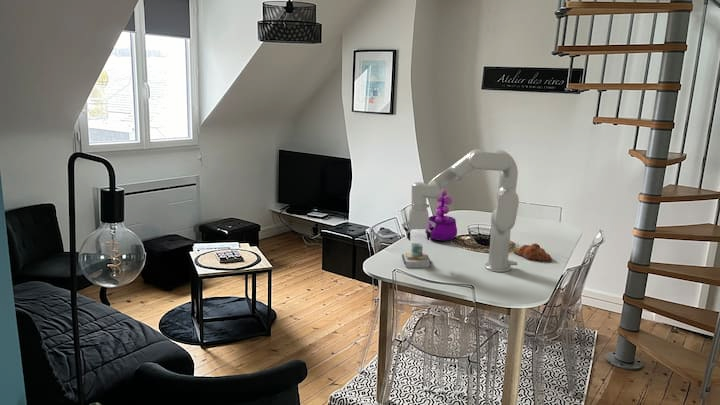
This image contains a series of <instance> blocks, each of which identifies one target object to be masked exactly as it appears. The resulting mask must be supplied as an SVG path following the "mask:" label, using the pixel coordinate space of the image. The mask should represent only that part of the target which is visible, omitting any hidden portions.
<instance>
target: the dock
mask: <svg viewBox="0 0 720 405" xmlns="http://www.w3.org/2000/svg"><path fill="white" fill-rule="evenodd" d="M425 254H426V256H427V260H407V257H406V253H403V254H402V253H401V258H402V261H403V264H404V266H405V268H430V265H432V261H431V259H430V258H429V255H428V254H427V253H425Z"/></svg>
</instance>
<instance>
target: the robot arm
mask: <svg viewBox="0 0 720 405" xmlns="http://www.w3.org/2000/svg"><path fill="white" fill-rule="evenodd" d="M475 170H483V171H496V172H499V177H498V186H497V189H496V190H497V191H496V194H495V195H496V196H495V198H496V201H497V206H496V208H495V209H493V211H492V213H491V218H490V239H489V249H488V250H489V251H488V261H487V262H486V263H484V267H485V269H487V270H488V271H492V272H496V273H505V272H509V271H510V270H511V266H517V265H518V261H514V260H510V259H509V251H510V242H511V231H512V229H513V228H514V227H515V224H516V220H517V215H518V211H519V210H518V209H519V203H520V202H519V201H520V200H519V198H520V197H519V195H518V194H517V192H516V191H517V184H518V178H519V174H518V173H519V169H518V165H517V163H516V161H515V159H514V157H512V155H510V153H508V152H507V151H505V150H502V149H499V150H495V151H494V152H491V151H490V152H487V151H483V150H482V149H478V148H475V149H472V150H471V151H469V152H468V153H467V154H465V155H464V156H463V157H462V158H460V159H459V160H458V161H456V162H454V164H452V165H451V166H449V167H448V168H447V169H445V170H443V171H442V172H440V173H439V174H438V175H437V176H435V177H434V178H433V179H432V180H430V181H429V182H428V183H425V182H413V183H412V184H411V208H409V213H408V220H407V221H404V222H403V223H401V227H402V229H403V230H404V231H405V232H406V238H407V240H408V241H411V231H412V230H426V229H427V230H428V231H427V234H426V239H427V241H429V240H430V239H431V238H430V232H431V231H432V230H433V229H434V227H435V225H436V223H434V222H432V221H430V220H429V217H430V216H429V210H428V209H427V208H430V204H427V203H428V202H427V201H428V200H427V199H433V200H435V199H436V200H437V198H439V197H440V196H441V195H442V190H445V189H446V188H447V187H448V186H450V185H452V184H453V183H455V182H458V181H459V182H460V181H462V180H464V179H466V177H468V176H469V175H470V174H471V173H473V172H475ZM441 197H442V196H441ZM429 223H430V224H432V226H431V227H430V228H429ZM407 225H408V228H407V227H406V226H407Z"/></svg>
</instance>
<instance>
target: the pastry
mask: <svg viewBox="0 0 720 405" xmlns="http://www.w3.org/2000/svg"><path fill="white" fill-rule="evenodd" d="M513 254H514V255H517V256H519V257H522V258H524V260H528V261H539V262H543V263H551V262H553V258H552V257H551V255H550V254H549V253H548V252H546V250H545V249H544V248H541V246H540V245H539V244H538V243H532V244H531V245H529V244H528V245H527V244H524V245H522V246H521V247H515V248H514V250H513Z"/></svg>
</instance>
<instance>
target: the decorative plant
mask: <svg viewBox="0 0 720 405" xmlns="http://www.w3.org/2000/svg"><path fill="white" fill-rule="evenodd" d="M447 195H448V192H447V190H445V189H443V190H442V195H441V196H440V197H439V198H436V201H437V202H438V203H440V204H437V206H436V209H435V214H436V215H431V216H429V220H430V221H432V222H434V223H436V225H435V227H434V229H433V230H432V231H431V232H430V238H429V239H433V240H434V241H435V240H436V241H449V240H452V239H454V238H456V236H457V235H458V228H457V227H458V226H457V221H456V218H455V217H453V216H449V215H447V214H448V213H449V212H450V208H449V205H451V204H452V202H453V199H452V198H451V197H450V196H447ZM431 226H432V224H430V223H429V228H430V227H431ZM424 230H425V234H426V235H427V231H428V230H427V229H424Z"/></svg>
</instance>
